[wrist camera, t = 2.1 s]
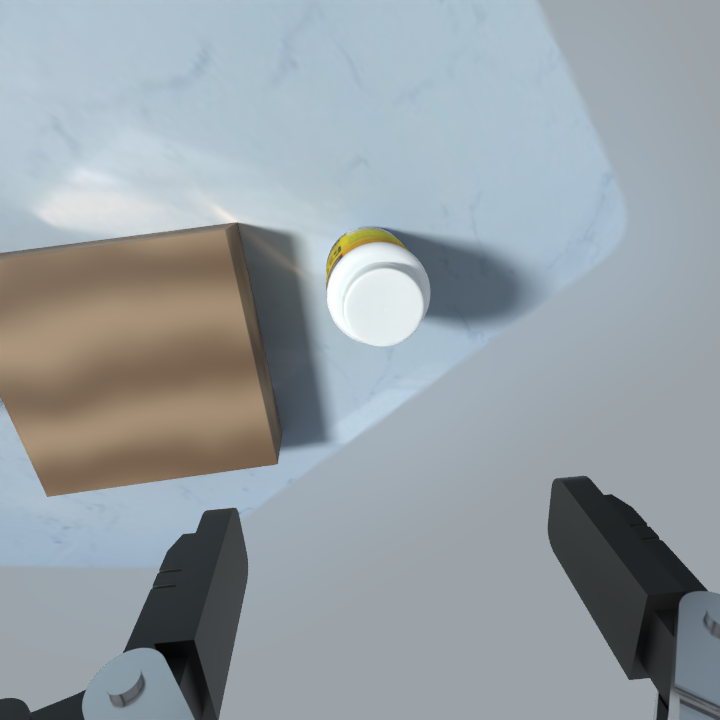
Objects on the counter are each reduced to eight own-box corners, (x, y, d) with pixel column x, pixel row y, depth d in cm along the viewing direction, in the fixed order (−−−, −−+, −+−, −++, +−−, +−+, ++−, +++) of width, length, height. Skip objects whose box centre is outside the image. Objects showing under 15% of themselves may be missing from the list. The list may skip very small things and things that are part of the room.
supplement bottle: (326, 223, 31) (328, 247, 21) (410, 227, 31) (448, 252, 22) (324, 305, 33) (325, 361, 23) (403, 308, 33) (434, 363, 24)
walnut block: (-13, 254, 30) (-60, 266, 26) (237, 222, 30) (225, 229, 26) (75, 463, 36) (47, 496, 32) (282, 434, 36) (277, 464, 33)
